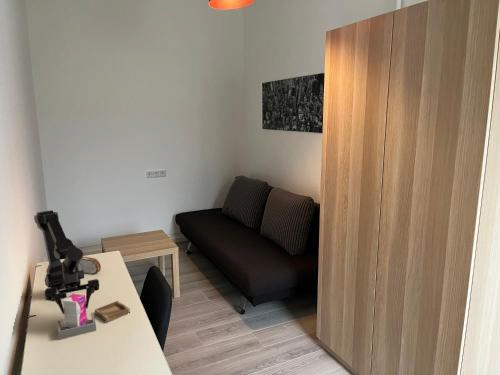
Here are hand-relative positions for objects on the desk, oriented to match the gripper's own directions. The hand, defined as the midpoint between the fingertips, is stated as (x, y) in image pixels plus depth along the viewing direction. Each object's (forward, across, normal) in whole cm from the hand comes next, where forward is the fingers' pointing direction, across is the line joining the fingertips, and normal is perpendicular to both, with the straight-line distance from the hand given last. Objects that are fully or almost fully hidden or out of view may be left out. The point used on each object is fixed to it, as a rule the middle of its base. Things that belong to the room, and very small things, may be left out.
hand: (75, 310), depth 140 cm
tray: (+1, +14, +10) cm, 17 cm away
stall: (+5, 0, +6) cm, 8 cm away
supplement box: (+4, 0, +6) cm, 7 cm away
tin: (-33, +8, +46) cm, 57 cm away
